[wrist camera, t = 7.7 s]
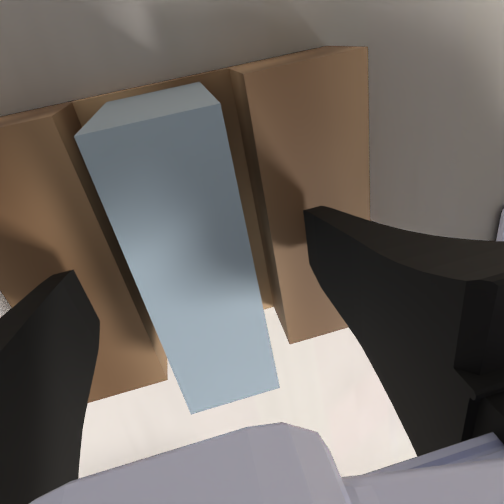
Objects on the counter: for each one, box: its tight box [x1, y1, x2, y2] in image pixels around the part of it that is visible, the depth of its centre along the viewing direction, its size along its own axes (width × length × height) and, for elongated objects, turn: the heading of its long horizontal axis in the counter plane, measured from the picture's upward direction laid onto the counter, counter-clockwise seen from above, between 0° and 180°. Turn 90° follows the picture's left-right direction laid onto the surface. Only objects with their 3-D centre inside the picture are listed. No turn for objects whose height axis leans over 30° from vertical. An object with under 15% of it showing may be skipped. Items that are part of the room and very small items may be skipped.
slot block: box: [0, 46, 370, 403], centre depth 13 cm, size 12×10×3 cm
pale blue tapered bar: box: [74, 82, 280, 414], centre depth 12 cm, size 3×9×5 cm, turn 10°
